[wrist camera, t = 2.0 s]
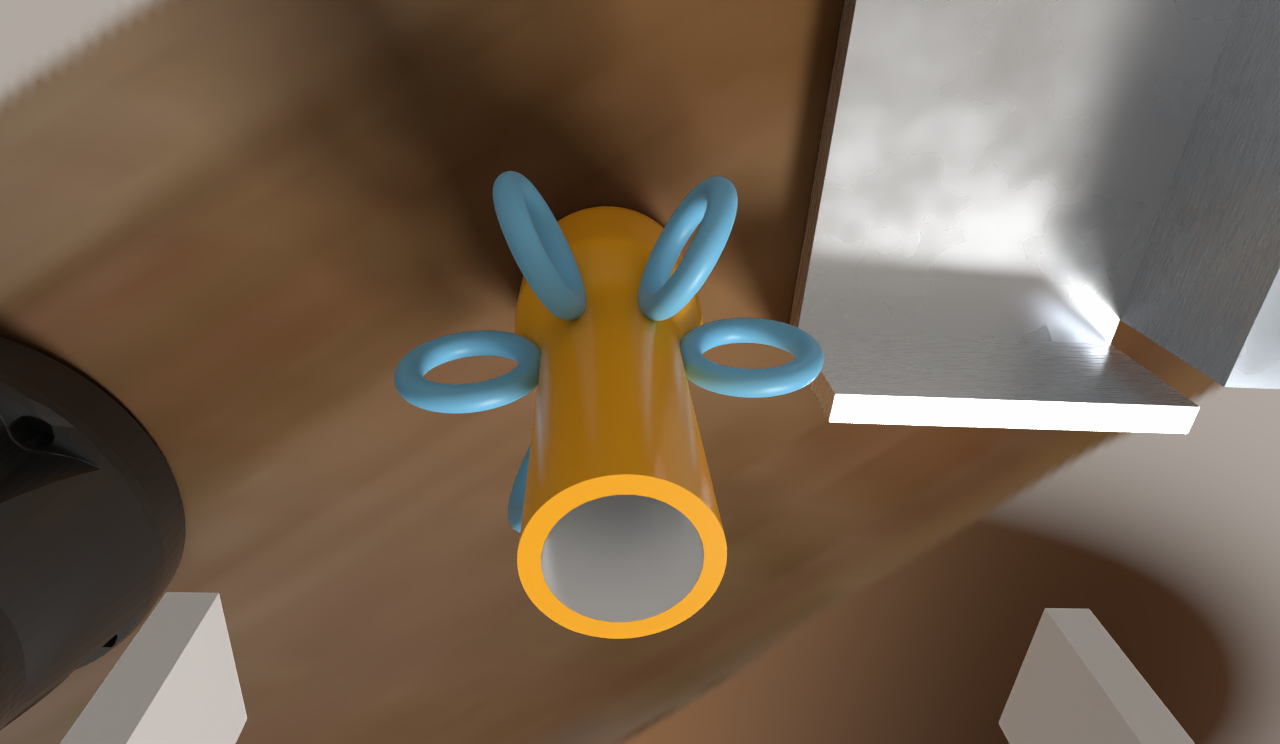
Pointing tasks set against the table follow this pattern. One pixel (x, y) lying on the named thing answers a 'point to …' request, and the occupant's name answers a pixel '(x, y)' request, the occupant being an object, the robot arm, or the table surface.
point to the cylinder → (613, 403)
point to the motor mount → (1043, 210)
